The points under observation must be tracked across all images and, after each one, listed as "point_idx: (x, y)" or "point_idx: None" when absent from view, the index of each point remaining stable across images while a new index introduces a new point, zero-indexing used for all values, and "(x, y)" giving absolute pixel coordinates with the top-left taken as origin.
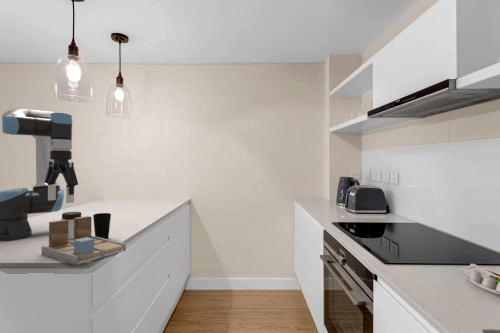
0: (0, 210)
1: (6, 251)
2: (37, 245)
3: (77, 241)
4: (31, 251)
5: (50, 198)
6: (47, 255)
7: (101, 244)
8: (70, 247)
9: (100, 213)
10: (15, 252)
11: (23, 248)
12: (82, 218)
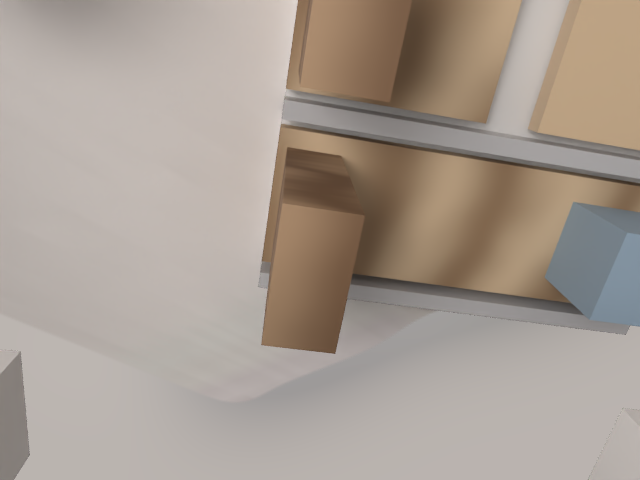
0: None
1: (24, 315)
2: (27, 156)
3: (631, 323)
4: (154, 258)
5: (5, 460)
6: None
7: (589, 58)
8: (430, 207)
9: None
10: (94, 306)
11: (34, 240)
12: (401, 39)
